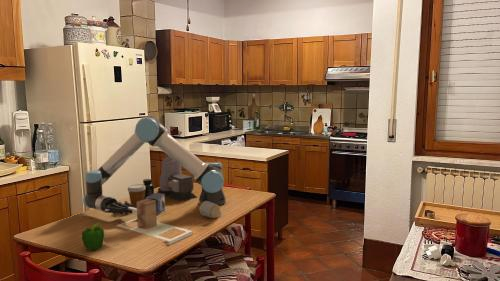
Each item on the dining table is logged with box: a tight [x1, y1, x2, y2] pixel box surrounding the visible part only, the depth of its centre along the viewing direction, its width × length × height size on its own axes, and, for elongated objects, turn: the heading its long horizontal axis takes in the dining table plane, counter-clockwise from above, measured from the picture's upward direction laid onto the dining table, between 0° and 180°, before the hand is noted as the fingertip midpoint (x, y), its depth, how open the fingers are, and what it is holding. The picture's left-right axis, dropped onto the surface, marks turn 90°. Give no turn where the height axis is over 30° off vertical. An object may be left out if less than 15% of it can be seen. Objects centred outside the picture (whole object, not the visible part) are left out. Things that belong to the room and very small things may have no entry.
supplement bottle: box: [142, 178, 155, 199], centre depth 223 cm, size 7×7×12 cm
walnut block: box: [136, 199, 158, 230], centre depth 174 cm, size 6×6×12 cm
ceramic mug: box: [199, 201, 223, 219], centre depth 193 cm, size 11×8×8 cm
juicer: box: [156, 155, 198, 202], centre depth 233 cm, size 30×16×24 cm, turn 42°
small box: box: [145, 192, 166, 217], centre depth 194 cm, size 11×6×10 cm, turn 168°
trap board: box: [116, 217, 193, 246], centre depth 173 cm, size 35×14×2 cm, turn 56°
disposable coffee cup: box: [127, 183, 146, 208], centre depth 208 cm, size 10×10×12 cm
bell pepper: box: [81, 222, 105, 251], centre depth 154 cm, size 8×8×10 cm
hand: (138, 212), depth 177 cm, fingers closed
